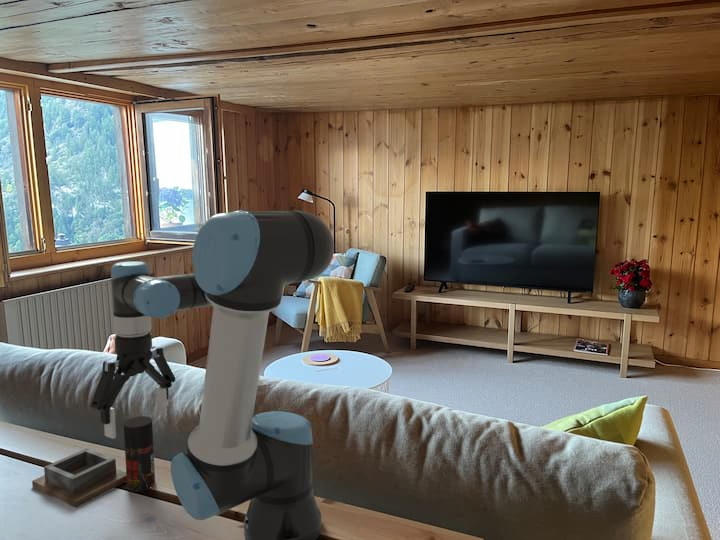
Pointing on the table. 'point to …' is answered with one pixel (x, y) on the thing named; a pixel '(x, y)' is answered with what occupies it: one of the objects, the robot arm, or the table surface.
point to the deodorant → (139, 453)
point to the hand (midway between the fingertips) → (137, 425)
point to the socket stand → (80, 477)
